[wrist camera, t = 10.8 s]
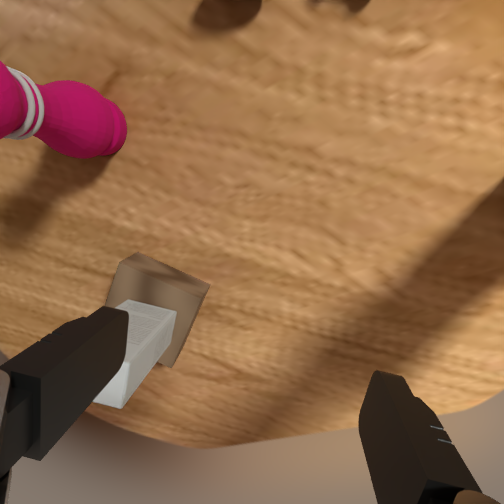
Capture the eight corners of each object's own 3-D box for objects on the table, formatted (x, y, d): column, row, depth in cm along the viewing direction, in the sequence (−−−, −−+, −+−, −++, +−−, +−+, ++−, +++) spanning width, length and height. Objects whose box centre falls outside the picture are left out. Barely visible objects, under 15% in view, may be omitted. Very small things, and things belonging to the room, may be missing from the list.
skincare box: (122, 332, 36) (47, 392, 25) (128, 298, 36) (54, 342, 24) (172, 345, 36) (121, 411, 24) (179, 310, 35) (130, 362, 24)
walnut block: (210, 283, 40) (201, 298, 35) (183, 345, 42) (171, 368, 38) (138, 251, 40) (119, 262, 35) (116, 316, 42) (94, 334, 37)
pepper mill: (63, 98, 35) (-196, 11, 16) (123, 87, 35) (-75, -21, 15) (80, 164, 37) (-135, 156, 18) (138, 154, 36) (-23, 135, 17)
